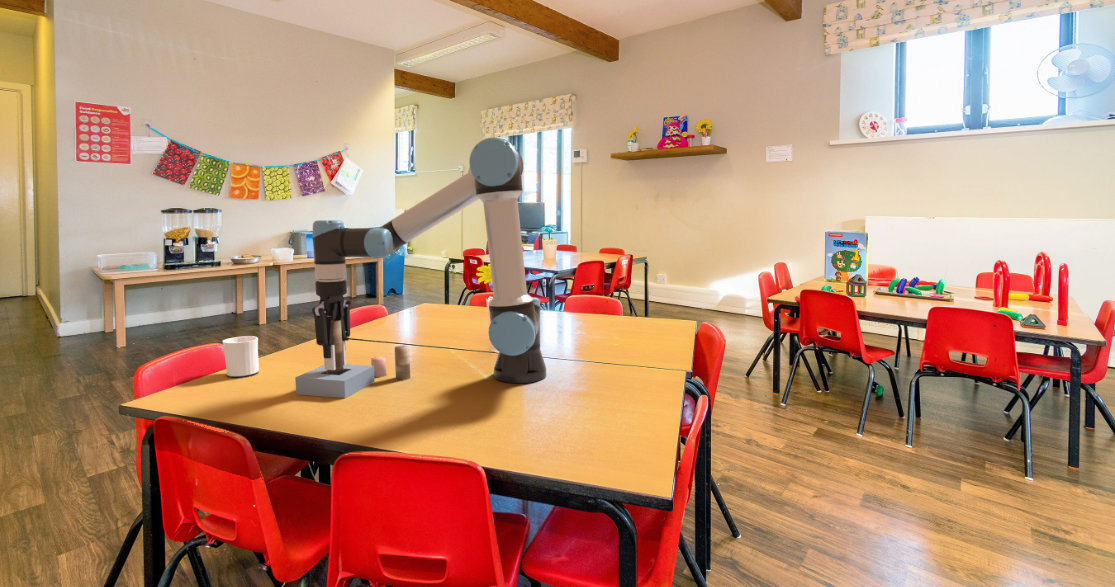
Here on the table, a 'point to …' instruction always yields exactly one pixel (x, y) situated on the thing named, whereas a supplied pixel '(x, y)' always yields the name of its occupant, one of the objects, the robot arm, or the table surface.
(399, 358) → the pin medium
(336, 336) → the pin long
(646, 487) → the table surface
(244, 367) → the mug
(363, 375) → the socket
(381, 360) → the pin short
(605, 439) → the table surface
